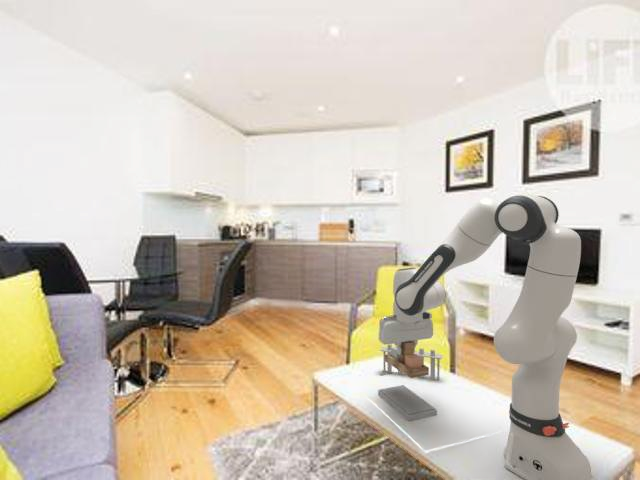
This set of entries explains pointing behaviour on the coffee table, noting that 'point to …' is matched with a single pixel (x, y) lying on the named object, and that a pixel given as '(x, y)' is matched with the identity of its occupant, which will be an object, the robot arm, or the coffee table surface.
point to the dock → (407, 403)
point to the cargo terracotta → (413, 361)
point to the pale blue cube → (394, 353)
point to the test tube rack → (420, 353)
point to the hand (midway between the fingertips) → (406, 353)
